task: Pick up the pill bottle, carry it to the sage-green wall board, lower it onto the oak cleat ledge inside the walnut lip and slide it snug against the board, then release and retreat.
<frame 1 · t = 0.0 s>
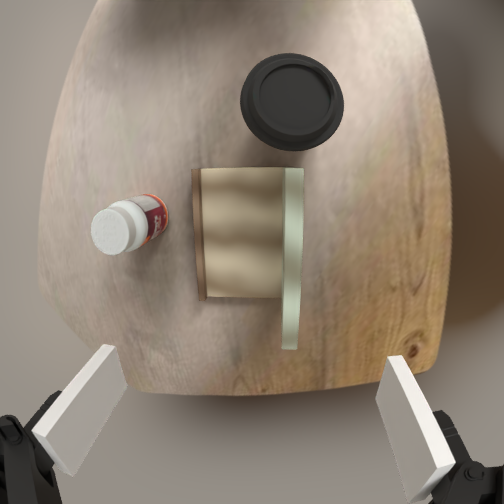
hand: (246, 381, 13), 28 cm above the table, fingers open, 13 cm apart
coffee cup: (287, 121, 35), on the table
cleat board: (287, 232, 39), on the table
pill bottle: (150, 214, 40), on the table
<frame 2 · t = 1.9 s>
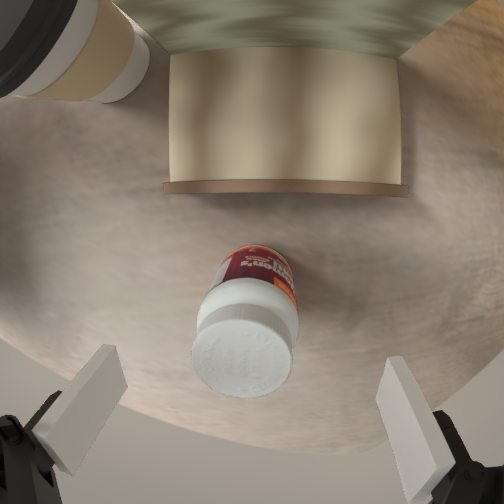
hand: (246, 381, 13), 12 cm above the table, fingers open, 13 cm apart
coffee cup: (115, 68, 20), on the table
cleat board: (284, 47, 19), on the table
pill bottle: (255, 278, 25), on the table
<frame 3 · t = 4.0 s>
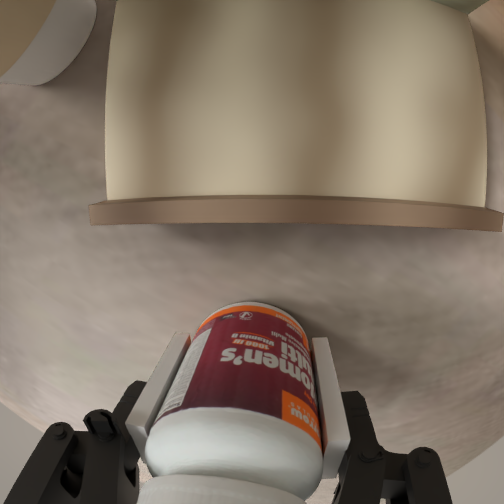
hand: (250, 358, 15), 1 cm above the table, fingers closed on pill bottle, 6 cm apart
coffee cup: (54, 37, 11), on the table
pill bottle: (251, 346, 16), on the table, touching gripper
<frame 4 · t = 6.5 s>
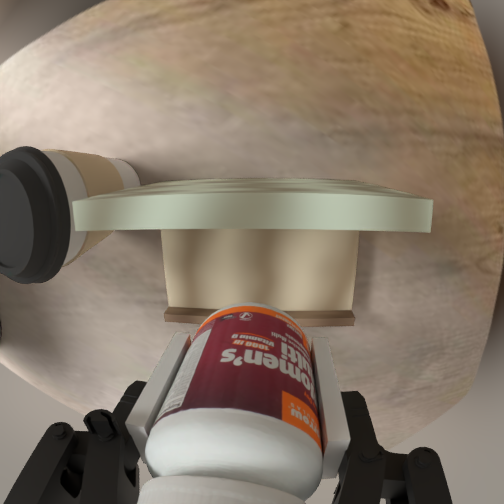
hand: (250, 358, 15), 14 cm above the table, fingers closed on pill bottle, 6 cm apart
coffee cup: (112, 192, 27), on the table
cleat board: (259, 186, 26), on the table
pill bottle: (251, 347, 16), point 13 cm above the table, touching gripper
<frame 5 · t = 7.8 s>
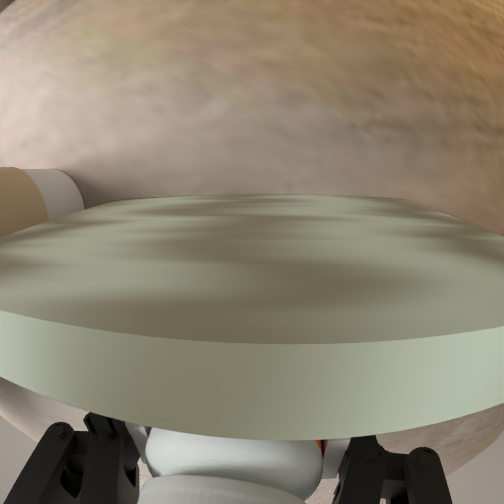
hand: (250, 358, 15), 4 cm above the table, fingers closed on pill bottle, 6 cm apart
coffee cup: (52, 216, 18), on the table
cleat board: (254, 208, 16), on the table
pill bottle: (251, 347, 16), point 3 cm above the table, touching gripper
when the fingers open (4 cm above the table, at t = 9.0 s): pill bottle stays where it is, resting on cleat board.
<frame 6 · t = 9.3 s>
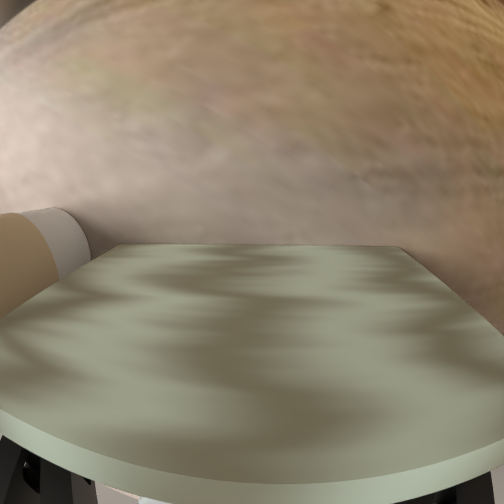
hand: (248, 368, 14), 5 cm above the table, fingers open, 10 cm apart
coffee cup: (57, 253, 19), on the table
cleat board: (255, 257, 17), on the table
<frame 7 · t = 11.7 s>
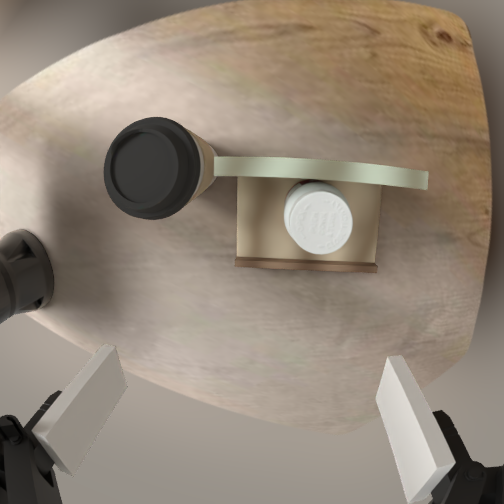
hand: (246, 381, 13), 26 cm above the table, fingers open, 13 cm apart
coffee cup: (192, 166, 36), on the table
cleat board: (310, 168, 35), on the table
pill bottle: (310, 205, 34), point 2 cm above the table, touching cleat board
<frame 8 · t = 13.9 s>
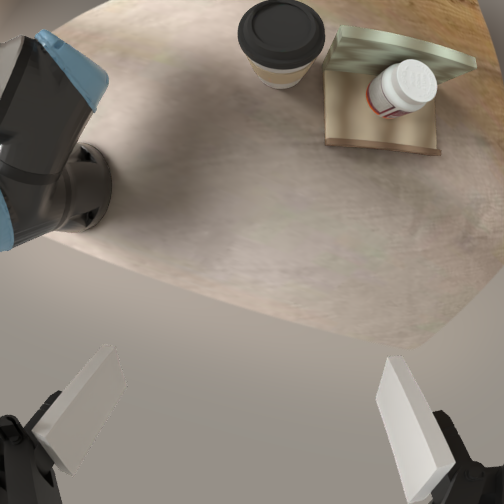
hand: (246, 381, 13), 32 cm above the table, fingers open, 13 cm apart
coffee cup: (280, 68, 37), on the table
cleat board: (378, 75, 35), on the table
pill bottle: (383, 99, 35), point 2 cm above the table, touching cleat board
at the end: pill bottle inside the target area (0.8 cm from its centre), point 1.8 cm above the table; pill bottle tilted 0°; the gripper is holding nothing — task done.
